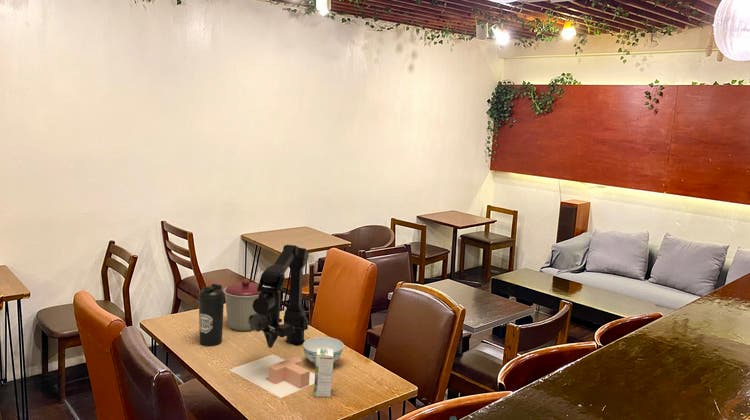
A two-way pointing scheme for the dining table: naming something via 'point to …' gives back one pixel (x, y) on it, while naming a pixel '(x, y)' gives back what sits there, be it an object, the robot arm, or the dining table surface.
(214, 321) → the water bottle
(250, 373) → the mat
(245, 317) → the canister
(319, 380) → the syrup box
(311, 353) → the chinaware
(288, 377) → the t block
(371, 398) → the dining table surface
